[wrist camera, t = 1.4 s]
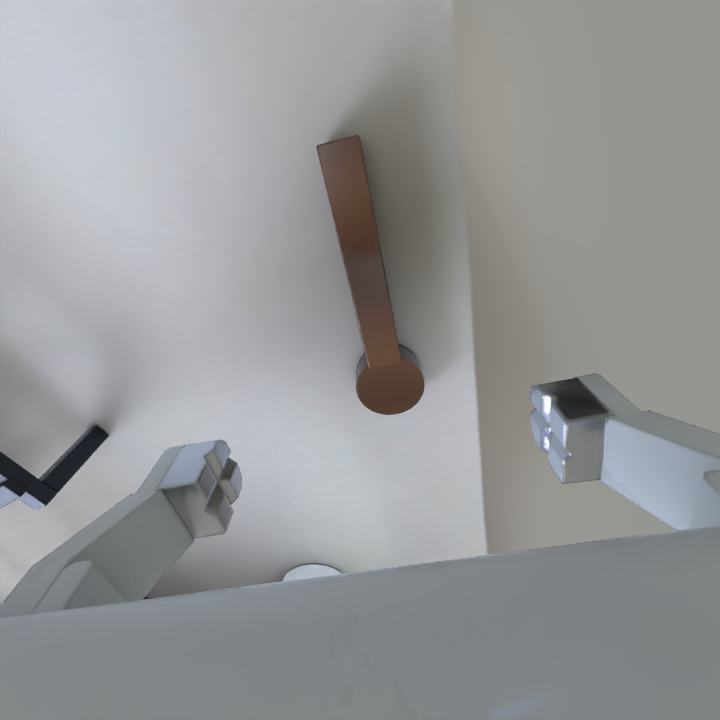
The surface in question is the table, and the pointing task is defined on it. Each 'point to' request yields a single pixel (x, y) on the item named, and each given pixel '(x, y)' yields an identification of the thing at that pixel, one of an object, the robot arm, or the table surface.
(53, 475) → the rack
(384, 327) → the plank on round base
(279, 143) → the table surface
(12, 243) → the table surface
